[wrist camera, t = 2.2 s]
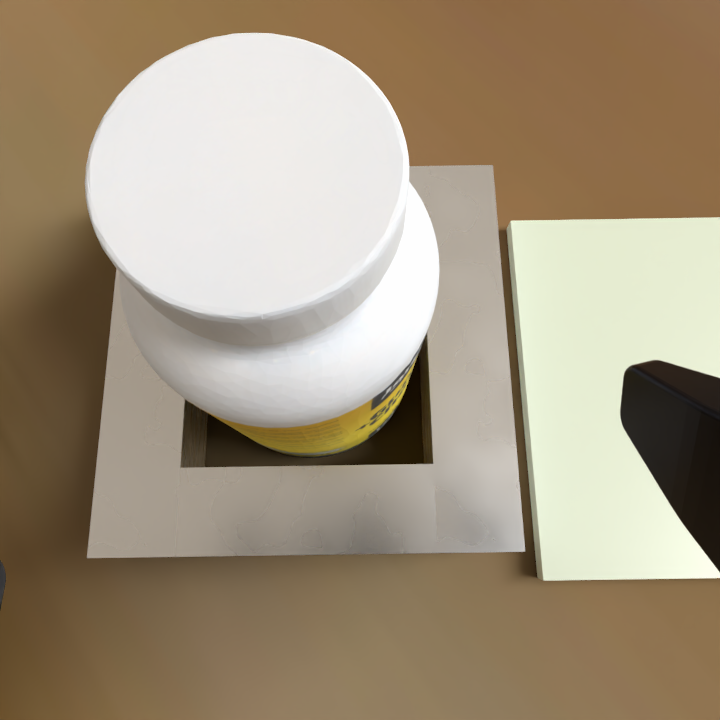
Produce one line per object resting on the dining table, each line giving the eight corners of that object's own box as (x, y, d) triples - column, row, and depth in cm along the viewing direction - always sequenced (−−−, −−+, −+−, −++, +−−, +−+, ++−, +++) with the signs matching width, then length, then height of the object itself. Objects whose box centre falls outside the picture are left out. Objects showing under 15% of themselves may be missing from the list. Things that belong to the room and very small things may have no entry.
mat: (793, 574, 17) (808, 576, 17) (537, 577, 17) (543, 580, 17) (724, 225, 20) (735, 216, 20) (506, 228, 20) (510, 220, 20)
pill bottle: (351, 495, 18) (332, 486, 7) (184, 401, 19) (-83, 251, 8) (441, 328, 19) (549, 88, 8) (282, 247, 20) (181, -74, 9)
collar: (502, 544, 18) (525, 551, 15) (124, 550, 18) (86, 557, 15) (477, 204, 21) (492, 165, 18) (154, 209, 21) (126, 170, 18)
